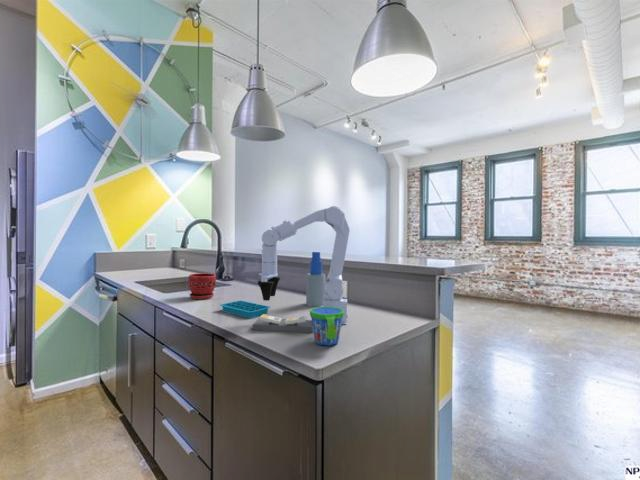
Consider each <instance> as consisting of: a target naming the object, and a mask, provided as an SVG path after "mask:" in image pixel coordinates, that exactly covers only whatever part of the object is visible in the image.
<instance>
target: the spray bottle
mask: <svg viewBox="0 0 640 480" xmlns="http://www.w3.org/2000/svg"><path fill="white" fill-rule="evenodd" d="M325 282H326V274H325V273H323V261H322V260H321V251H320V252H319V251H312V252H311V259H310V261H309V273H306V285H305V286H306V289H305V291H306V294H305V296H306V297H305V298H306V299H305V301H306V302H305V303H306V304H305V305H307V306H309V307H313V308H316V307H323V302H324V296H325V294H326V293H325V292H324V289H323V286H324V283H325Z"/></svg>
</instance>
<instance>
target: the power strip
mask: <svg viewBox="0 0 640 480" xmlns="http://www.w3.org/2000/svg"><path fill="white" fill-rule="evenodd" d="M281 319H282V320H281V322H280V323H279V324H276V323H272V322H268V321H264V320H260V317H259V318H257V320H255V321H254V322H253V323H252V324H251V325H252V327H251V328H252V331H265V332H266V331H267V332H268V331H269V332H287V333H292V332H293V333H307V334H308V333H309V334H312V333H313V326H312V319H306V321H305V322H299V323H292V324H286V325H285V321H286V320H287V319H288V318H281Z"/></svg>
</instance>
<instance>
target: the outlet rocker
mask: <svg viewBox="0 0 640 480" xmlns="http://www.w3.org/2000/svg"><path fill="white" fill-rule="evenodd" d="M259 318H260V320H264V321H268V322H272V323H276V324H279V323H280V322H281V320H282V319H283V318H282V317H276V316H272V315H268V314H263V315H261V316H259Z"/></svg>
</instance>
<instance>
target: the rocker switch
mask: <svg viewBox="0 0 640 480" xmlns="http://www.w3.org/2000/svg"><path fill="white" fill-rule="evenodd" d="M286 319H287V320H286V321H285V325H286V324H292V323H299V322H305V321H306V320H308V319H307V315H304V316H298V317H291V318H286Z"/></svg>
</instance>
